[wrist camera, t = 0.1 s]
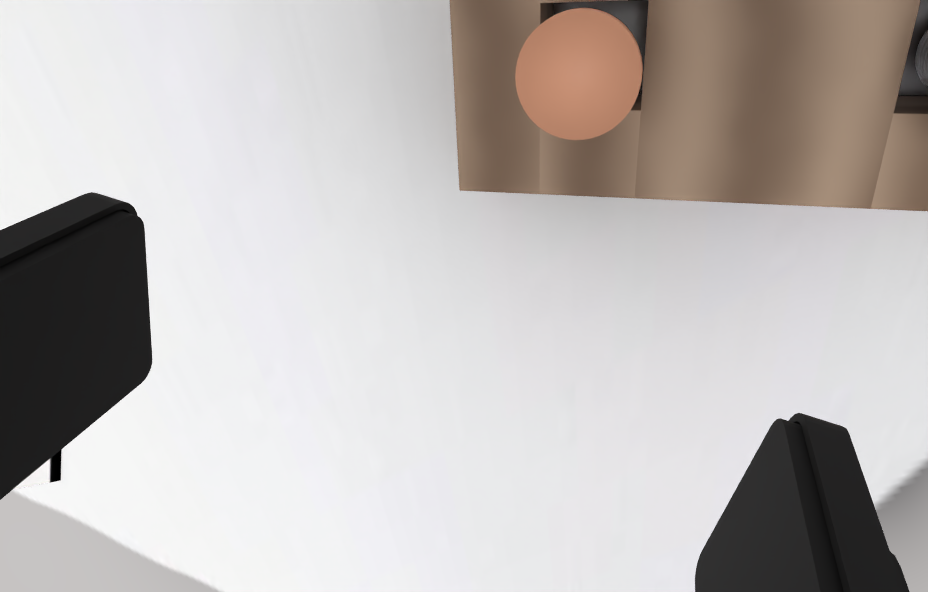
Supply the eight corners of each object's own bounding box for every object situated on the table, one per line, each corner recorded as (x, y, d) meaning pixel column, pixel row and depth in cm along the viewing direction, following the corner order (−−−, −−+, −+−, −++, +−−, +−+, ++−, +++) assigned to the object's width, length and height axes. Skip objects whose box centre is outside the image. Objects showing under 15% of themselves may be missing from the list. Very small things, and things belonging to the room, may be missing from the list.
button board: (1193, -147, 27) (1268, -160, 24) (1066, 190, 33) (1111, 219, 30) (467, -97, 35) (444, -100, 31) (477, 169, 41) (459, 190, 38)
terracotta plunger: (651, -5, 32) (646, 8, 26) (643, 108, 34) (636, 141, 29) (541, -1, 33) (514, 11, 28) (541, 107, 35) (516, 138, 30)
